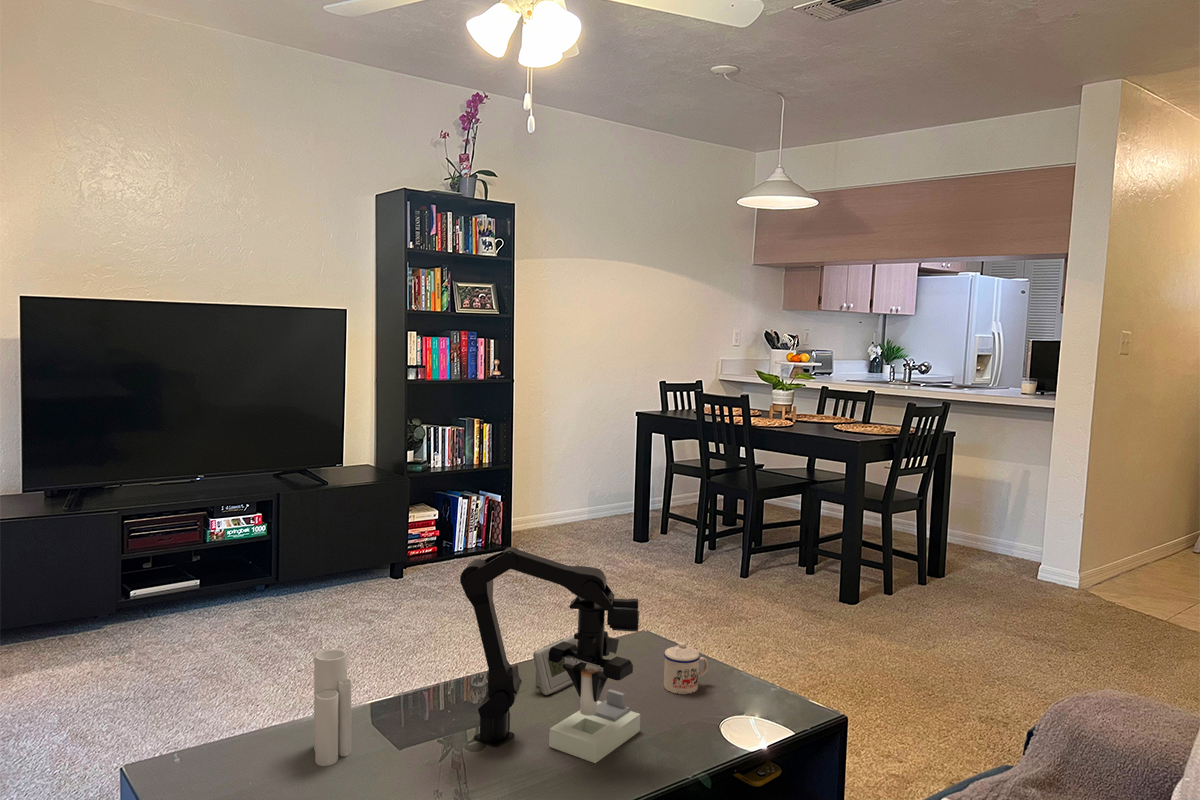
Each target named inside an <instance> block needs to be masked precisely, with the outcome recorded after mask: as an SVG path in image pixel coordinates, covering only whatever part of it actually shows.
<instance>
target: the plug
mask: <svg viewBox="0 0 1200 800" xmlns="http://www.w3.org/2000/svg"><path fill="white" fill-rule="evenodd" d="M596 672H597V669H596V668H590V667H589V668H588V667H587V668H585V669H583V670H582V671H581V697H580V705H579V706H580V707H579V708H580V709H579V710H580V713H581V714H583V715H587V716H591V715H595V714H596V713H597V701H596V702H595V701H594V698H593V687H592V674H594V673H596Z"/></svg>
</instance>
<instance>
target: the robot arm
mask: <svg viewBox="0 0 1200 800" xmlns="http://www.w3.org/2000/svg"><path fill="white" fill-rule="evenodd" d="M510 570H511V571H516V572H519V573H522V574H524V575H528V576H530V577H531V576H532V577H534V578H537V579H540V580H544V581H546V582H549V583H550V582H551V583H553V584H555V585H558V586H561V587H562V588H564V589H566V590H568V591H569V592H570V593H571V594H573V595H575V596H576V597H575V598H574V599H572V600H571V602H570V604H569V607H568V608H569V609H570V610H571V609H572V610H578V611H577V612H578V613H577V614H578V615H577V632H575V633H574V635H573V636H574V639H577V646H576V645H574V644H571V643H567V642H564V641H563V642H561V643H559V644H557V645H555V646H553V647H551V648H550V650H549V652H548V660H549V661H553V662H556V663H559V662H561V661H562V660H563V657H564V658H565V664H564V665H563V666H562V667H563V668H564V669H566V671H567V673H568V675H569V676H570V678H571V680H572V682H573V684H572V685H573V687H574V688H575V690H576V692H577V695H578V696H579V697H580V698H581V671H582V670H583V669H586V667H587V665H590V666H593V667H596V668H597V669H596V670H597V672H596V673H594V674H592V687H593V698H594V701H595V702H596V701H600V697H601V695H602V692H603V689H604V687H605V684H606V682H607V681H608V679H611V680H613V681H621V680H623V679H625V678H626V677H628V676H629V675H631V674H633V672H634V665H633V661H631V660H630V659H629V658H628V659H627V658H624V657H620V656H615V657H614V658H611V659H605V658H604V657H607V656H610V653H613V654H614V655H616V654H617V651H618V647H619V643H620V639H618V638H616V637H615V638H614V637H611V636H609V634H608V631H606V630H605V622H606V621H607V622H606V625H607V626H609V629H611V631H617V632H618V631H619V632H631V633H632V632H639V623H640V611H639V599H638V598H629V599H627V598H615V594H614V592H613V590H612V589H611V588H610V586H609V585H608V583H607V577H606V575H605V573H604V571H603V570H601V569H599V568H597V567H590V566H584V565H567V564H564V563H561V562H557V561H556V560H555V561H554V560H551V559H548V558H546V557H542V556H538V555H537V554H536V555H535V554H533V553H529V552H527V551H524V550H520V549H518V548H517V547H514V546H510V547H507V548H506V549H504V550H502V551H499V552H497V553H495V554H491V556H488V557H486V558H484V559H482V558H477V559H473V560H471V561H470V563H468V565H467V566H466V567H465V568H464V569H463V570H462V572H461V574H460V577H459V578H460V580H459V581H460V585H461V588H462V589H463V592H464V594H465V596H466V597H465V598H467V600H469V602H470V603H471V605H472V607H473V610H474V615H475V618H476V621H477V622H476V623H477V626H478V631H479V635H480V639H481V642H482V647H483V650H484V651H483V652H484V656H485V660H486V664H487V669H488V673H487V692H485V695H484V696H483V698H482V701H481V702H480V703H479V706H478V708H477V712H478V715H479V733H477V734H475V735H474V737H473V738H474V739H475V740H477V741H479V742H481V743H484V744H488V745H490V746H492V747H498V746H500V745H502V744H503V743H506V742H507V741H508V740H510V739H512V738H514V737H515V733H514V732H511V731H510V730H511V725H510V724H511V713H510V708H511V707H512V706H513V705H514V704H515V701H516V699H517V696H518V695H519V692H520V689H521V685H522V682H523V680H522V679H521V677H520V674H519V666H518V664H516V665H514V666H512V665H511V663H510V662H509V660H508V659H507V654H506V651H505V646H504V641H503V636H502V633H501V629H500V624H499V621H498V617H497V616H498V615H497V612H496V608H495V604H494V598H493V597H494V580H495V579H496V578H498V577H500V576H502V575H503V574H504V573H505V572H508V571H510ZM606 611H607V615H606ZM605 616H607V617H605ZM605 618H606V621H605Z"/></svg>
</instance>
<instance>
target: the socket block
mask: <svg viewBox="0 0 1200 800" xmlns="http://www.w3.org/2000/svg"><path fill="white" fill-rule="evenodd" d="M602 702H603V701H600V700H598V701H597V705H598V704H600V703H602ZM640 731H641V713H638V712H635V711H632V710H630V711H629V712H628V713H626V714H625V715H623V716H622V717H620V718H619V719H617V720H616V721H611V720H608V719H605V718H601V717H598V716H595V715H591V716H587V715H583V714H581V713H580V709H579V710H578V711H576V712H575V713H573V714H571V715H569V716H568V717H566V718H564V719H563V720H561V721H560V722H558V723H556V724H555V725H553V726H551V727H550V728H549V731H548V732H549V739H548V740H549V741H548V745H549V746H548V747H549V748H552V749H555V750H557V751H560V752H563V753H565V754H567V755H568V754H569V755H572V756H575V757H577V758H579V759H582V760H585V761H587V762H591V763H594V764H597V762H599V761H601V760H602V759H603V758H605V757H607V756H608V755H609V754H610V753H611V752H613V751H615V750H616V749H617V748H619V747H620V746H621V745H623V744H624V743H625V742H627V741H628V740H630V739H631V738H632V737H634V736H635V735H636V734H638V733H639V732H640Z"/></svg>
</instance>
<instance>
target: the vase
mask: <svg viewBox="0 0 1200 800" xmlns="http://www.w3.org/2000/svg"><path fill="white" fill-rule="evenodd" d="M313 658H314V659H313V660H314V661H313V662H314V663H313V667H314V669H313V670H314V671H313V677H314V678H313V680H314V683H313V685H314V686H313V709H314V710H313V749H314V751H315V753H314V754H315V756H314V757H315V759H314V760H315V763H316V764H317V765H318V766H319V767H327V766H328V767H329V766H332V765H334V764H336V763H337V762H338V761H339V757H343V756H344V757H348V756H350V755H351V754H352V680H351V679H350V678H348V652H347V651H346V650H343V649H338V648H337V649H326V650H322V651H318V652H317V653H315V654H314V657H313ZM349 754H350V755H349Z"/></svg>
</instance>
